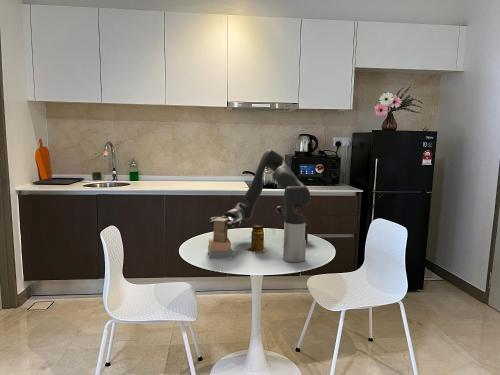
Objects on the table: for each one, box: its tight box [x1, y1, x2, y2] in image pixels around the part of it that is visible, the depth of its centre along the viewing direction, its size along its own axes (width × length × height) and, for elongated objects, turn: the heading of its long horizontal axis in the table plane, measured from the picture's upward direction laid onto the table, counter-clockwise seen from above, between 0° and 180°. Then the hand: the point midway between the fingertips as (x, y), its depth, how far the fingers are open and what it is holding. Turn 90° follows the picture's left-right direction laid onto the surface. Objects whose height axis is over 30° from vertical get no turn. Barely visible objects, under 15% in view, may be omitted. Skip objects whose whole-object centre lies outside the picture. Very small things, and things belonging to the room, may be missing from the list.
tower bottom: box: [207, 244, 233, 259], centre depth 178 cm, size 10×10×4 cm
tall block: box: [212, 218, 229, 243], centre depth 175 cm, size 5×5×10 cm
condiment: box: [244, 224, 267, 254], centre depth 184 cm, size 7×8×12 cm
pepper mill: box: [275, 205, 309, 244], centre depth 202 cm, size 16×11×18 cm
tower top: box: [208, 236, 232, 251], centre depth 177 cm, size 9×9×4 cm
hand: (219, 224), depth 174 cm, fingers open, 8 cm apart
